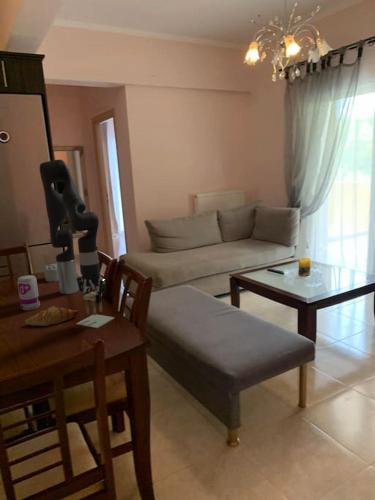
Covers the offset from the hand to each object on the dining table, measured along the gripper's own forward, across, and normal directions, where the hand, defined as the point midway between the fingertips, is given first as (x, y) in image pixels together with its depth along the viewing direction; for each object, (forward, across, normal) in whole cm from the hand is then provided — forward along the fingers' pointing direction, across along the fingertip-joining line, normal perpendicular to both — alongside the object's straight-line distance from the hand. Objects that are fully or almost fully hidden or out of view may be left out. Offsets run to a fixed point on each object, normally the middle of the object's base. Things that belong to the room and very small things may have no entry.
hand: (93, 302), depth 153 cm
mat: (+9, 0, 0) cm, 9 cm away
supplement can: (+9, +41, -2) cm, 42 cm away
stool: (+5, 0, 0) cm, 5 cm away
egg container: (+9, +69, -43) cm, 82 cm away
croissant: (+9, +18, +6) cm, 21 cm away
